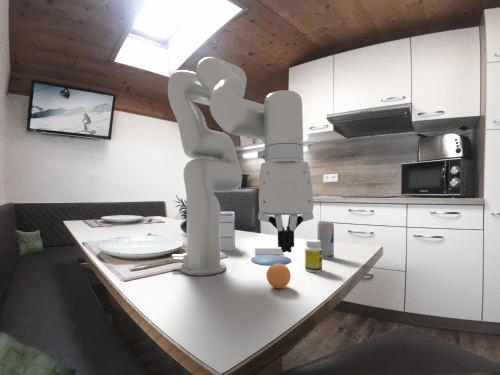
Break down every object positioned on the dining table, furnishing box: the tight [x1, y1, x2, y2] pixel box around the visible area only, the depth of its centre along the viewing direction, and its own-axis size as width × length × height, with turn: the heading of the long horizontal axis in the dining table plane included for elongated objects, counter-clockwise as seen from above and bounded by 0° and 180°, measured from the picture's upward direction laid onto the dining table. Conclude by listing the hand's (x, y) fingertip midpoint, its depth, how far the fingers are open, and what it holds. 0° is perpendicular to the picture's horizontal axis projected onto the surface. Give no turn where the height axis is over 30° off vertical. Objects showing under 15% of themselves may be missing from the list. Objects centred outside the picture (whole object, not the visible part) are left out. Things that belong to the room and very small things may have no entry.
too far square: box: [254, 247, 284, 256], centre depth 97 cm, size 10×10×1 cm
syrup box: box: [220, 211, 236, 251], centre depth 102 cm, size 6×6×14 cm
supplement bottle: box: [304, 239, 323, 273], centre depth 74 cm, size 5×5×8 cm
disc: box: [250, 255, 292, 266], centre depth 85 cm, size 13×13×1 cm
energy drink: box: [317, 220, 335, 260], centre depth 89 cm, size 5×5×12 cm
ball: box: [266, 263, 291, 289], centre depth 60 cm, size 6×6×6 cm
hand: (286, 250), depth 50 cm, fingers closed
